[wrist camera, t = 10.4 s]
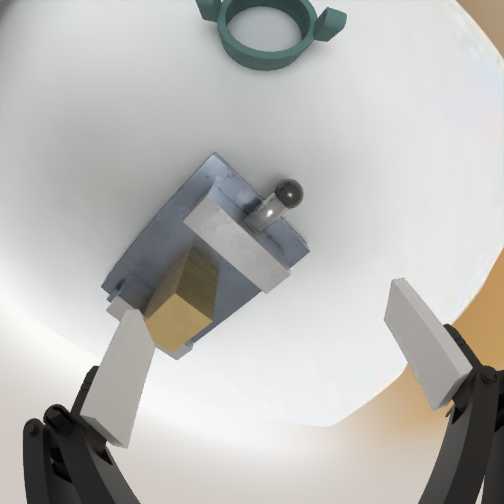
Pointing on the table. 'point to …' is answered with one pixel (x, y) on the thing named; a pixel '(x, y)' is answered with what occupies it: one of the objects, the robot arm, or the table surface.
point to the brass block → (182, 302)
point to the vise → (183, 239)
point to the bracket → (291, 3)
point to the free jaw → (246, 231)
